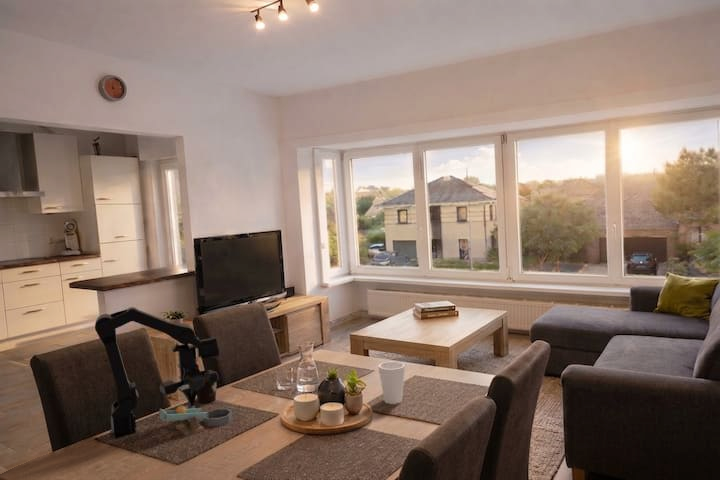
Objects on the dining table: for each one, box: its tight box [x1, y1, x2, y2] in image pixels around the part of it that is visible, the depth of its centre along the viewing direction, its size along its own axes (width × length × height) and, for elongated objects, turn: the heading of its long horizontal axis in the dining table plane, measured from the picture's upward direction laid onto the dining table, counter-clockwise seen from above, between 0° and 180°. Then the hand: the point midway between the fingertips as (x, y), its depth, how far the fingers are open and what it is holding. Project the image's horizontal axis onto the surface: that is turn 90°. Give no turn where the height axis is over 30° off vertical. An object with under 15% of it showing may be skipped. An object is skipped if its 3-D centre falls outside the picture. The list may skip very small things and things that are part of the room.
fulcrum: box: [157, 416, 205, 441], centre depth 172 cm, size 13×8×5 cm, turn 129°
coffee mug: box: [196, 381, 217, 405], centre depth 200 cm, size 12×9×10 cm
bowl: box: [202, 408, 233, 427], centre depth 180 cm, size 9×9×2 cm
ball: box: [175, 404, 186, 414], centre depth 172 cm, size 3×3×3 cm
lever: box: [158, 404, 208, 422], centre depth 176 cm, size 14×13×3 cm
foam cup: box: [378, 360, 406, 405], centre depth 190 cm, size 10×9×13 cm
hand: (191, 405), depth 183 cm, fingers closed
